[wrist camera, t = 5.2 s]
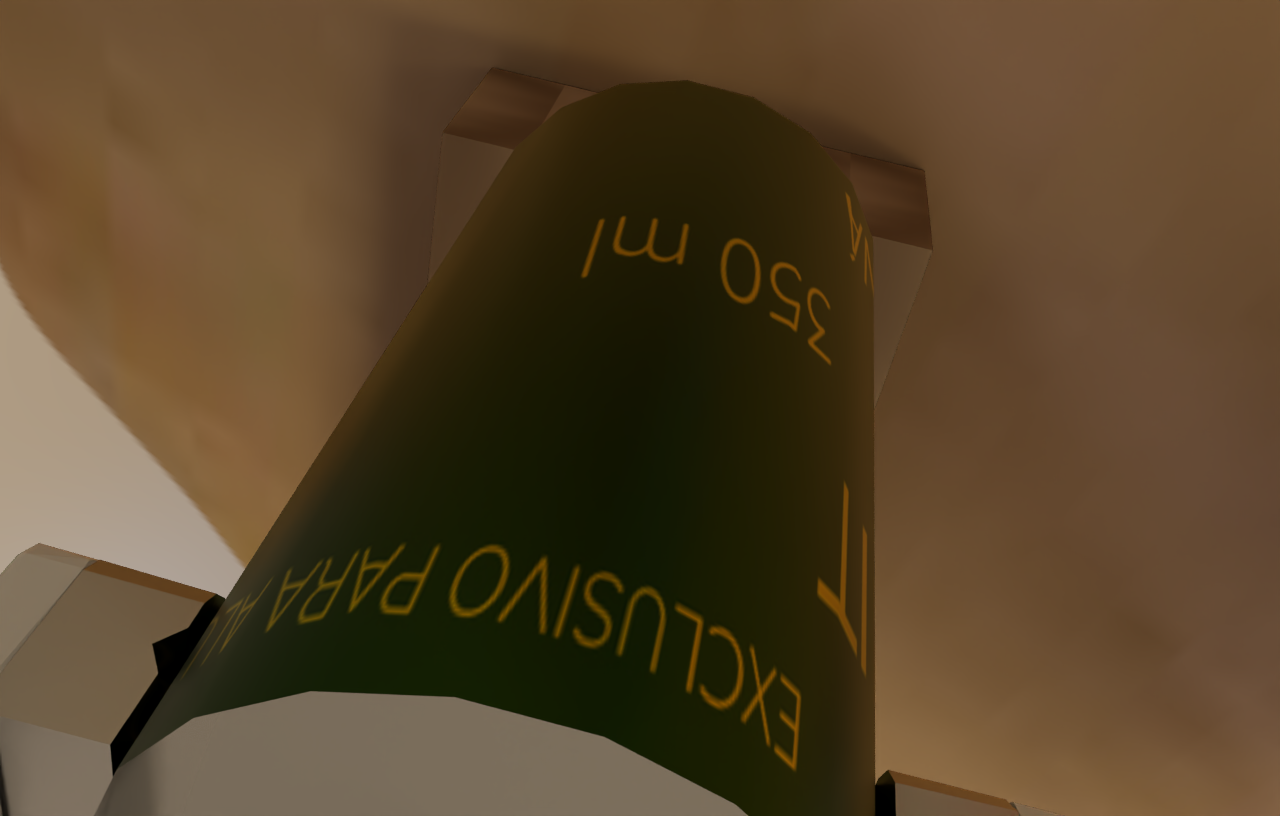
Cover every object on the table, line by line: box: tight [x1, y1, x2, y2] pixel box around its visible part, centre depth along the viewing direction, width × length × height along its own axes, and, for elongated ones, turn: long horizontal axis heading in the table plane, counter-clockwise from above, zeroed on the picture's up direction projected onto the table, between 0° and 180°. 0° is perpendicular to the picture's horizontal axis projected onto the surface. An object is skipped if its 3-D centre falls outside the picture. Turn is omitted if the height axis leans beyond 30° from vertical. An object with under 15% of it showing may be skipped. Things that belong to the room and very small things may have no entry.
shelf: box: [427, 68, 933, 410], centre depth 31 cm, size 10×18×4 cm, turn 169°
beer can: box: [94, 80, 875, 816], centre depth 12 cm, size 5×5×12 cm
